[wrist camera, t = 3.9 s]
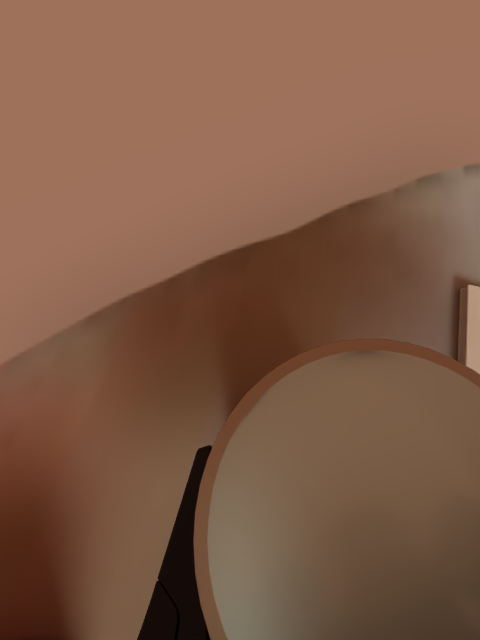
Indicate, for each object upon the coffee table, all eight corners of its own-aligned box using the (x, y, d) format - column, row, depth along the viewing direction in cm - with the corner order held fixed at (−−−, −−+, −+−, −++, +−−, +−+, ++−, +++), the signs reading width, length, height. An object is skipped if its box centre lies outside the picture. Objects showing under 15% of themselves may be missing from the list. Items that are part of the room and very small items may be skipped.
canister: (362, 491, 15) (693, 702, 4) (246, 532, 15) (268, 899, 4) (317, 374, 17) (471, 299, 6) (212, 408, 16) (154, 397, 5)
